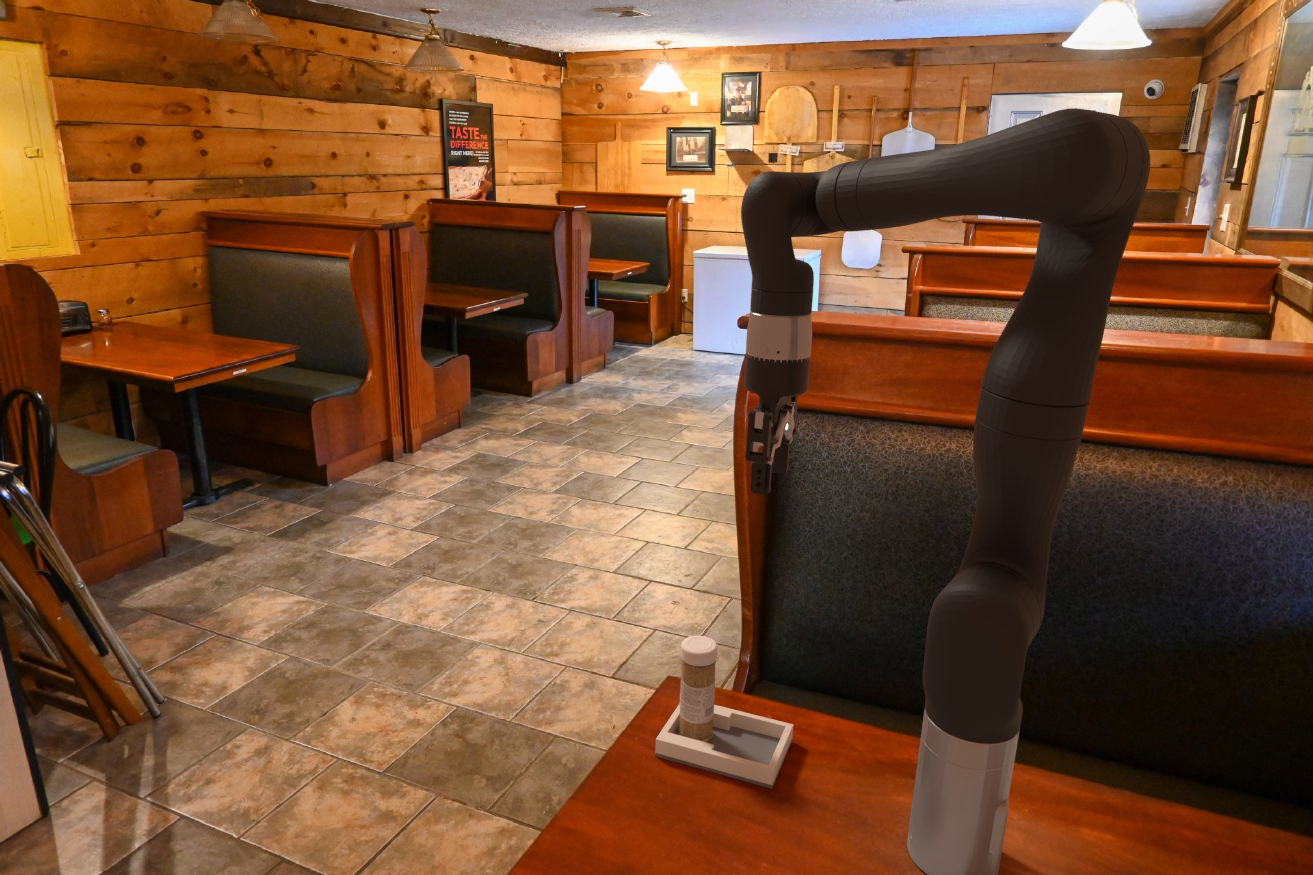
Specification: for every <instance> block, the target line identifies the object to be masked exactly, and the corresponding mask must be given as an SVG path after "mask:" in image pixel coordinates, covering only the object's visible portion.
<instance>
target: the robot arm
mask: <svg viewBox="0 0 1313 875" xmlns="http://www.w3.org/2000/svg"><path fill="white" fill-rule="evenodd" d="M1150 172H1151V153H1150V148H1149V144H1148V142H1147V139H1146V137H1145V135H1144V133H1143V132H1142V131H1141V129H1140V128H1139V127H1138V126H1137V125H1136V124H1134V122H1132V121H1130V120H1129V119H1128V118H1125V117H1123V116H1120V115H1116V114H1113V113H1107V112H1102V111H1101V112H1100V111H1096V110H1091V109H1084V108H1076V107H1075V108H1065V109H1064V108H1063V109H1059V110H1055V111H1052V112H1049V113H1047V114H1043V115H1041V116H1038V117H1035V118H1033V119H1030V120H1027V121H1024V122H1021V123H1018V124H1016V125H1013V126H1009V127H1007V128H1005V129H1001V130H999V131H996V132H993V133H990V134H987V135H985V136H981V137H978V138H975V139H971V140H968V141H963V142H960V143H956V144H953V145H947V146H943V147H939V148H933V149H927V150H921V151H919V150H918V151H911V152H906V153H897V154H891V155H890V154H889V155H882V156H875V157H870V158H865V159H856V160H852V161H848V162H847V161H846V162H842V163H839V164H836V165H834V166H831V167H830V168H829V169H827V170H823V171H811V172H809V171H808V172H798V171H796V172H795V171H794V172H793V171H774V170H772V171H765V172H761V173H759V174H757V175H756V176H755V177H753V178H752V180H751V181H750V182H749V183H748V184H747V187H746V189H745V192H744V194H743V197H742V201H741V209H740V215H741V216H740V217H741V218H740V219H741V227H742V231H743V237H744V241H745V242H744V243H745V246H746V248H745V249H746V253H747V258H748V262H749V267H750V271H751V289H750V290H751V292H750V308H749V319H748V324H747V328H746V339H745V341H746V343H745V359H744V363H745V364H744V378H743V379H744V382H743V387H744V389H745V390H746V391H748V392H750V393H752V394H756V395H757V396H758V397H759V400H758V405H757V406H755V407H754V409H753V410H752V409H750V410H749V412H748V416H747V417H748V423H747V437H746V450H745V461H746V462H748V463H749V462H750V463H751V475H750V476H751V477H750V478H751V480H750V492H751V493H753V494H756V495H763V496H767V495H768V494H769V493H770V492H771V485H772V484H771V483H772V473H775V474H780V475H784V474H786V473H787V472H788V471H789V461H790V460H789V459H790V444H792V442H793V439H794V437H793V436H796V433H797V418H798V417H797V414H798V402H799V400H798V399H799V397H800V396H802V395H804V394H806V392H807V391H808V390H809V385H810V384H809V381H810V368H811V356H812V355H811V354H812V343H813V341H812V340H813V325H812V324H813V323H812V313H813V300H814V298H813V297H814V284H815V282H814V281H815V280H814V278H815V276H814V274H815V273H814V269H813V267H812V265H810V263H808V262H807V261H804V260H801V259H797V258H796V255H795V251H794V246H793V240H792V238H804V237H814V236H815V237H816V236H822V235H828V234H834V233H839V232H864V231H872V230H875V231H877V230H882V229H883V230H885V229H892V228H900V227H906V226H910V225H916V224H918V223H919V224H920V223H924V222H928V221H931V220H935V219H942V218H950V217H962V216H963V217H965V216H982V217H983V216H985V217H999V218H1009V219H1019V220H1027V221H1034V222H1035V221H1037V222H1039V223H1040V227H1039V233H1038V235H1039V236H1038V240H1037V246H1036V252H1035V256H1034V257H1035V258H1034V261H1033V267H1032V270H1031V272H1030V277H1029V280H1028V281H1027V284H1026V287H1025V289H1024V291H1023V294H1022V295H1021V297H1020V299H1019V300H1018V303H1017V305H1016V306H1015V308H1014V311H1013V312H1012V314H1011V316H1010V318H1009V320H1008V321H1007V323H1006V325H1005V326H1004V328H1003V330H1002V332H1001V333H1000V335H999V337H998V339H997V341H996V343H995V344H994V346H993V349H992V351H991V354H990V356H989V358H988V361H987V364H986V367H985V370H984V374H983V378H982V381H981V386H980V393H979V398H978V402H977V403H978V404H977V408H976V414H975V419H974V427H973V436H972V455H973V469H974V477H975V485H976V505H975V506H976V508H975V514H974V520H973V523H972V528H971V533H970V536H969V539H968V543H967V546H966V549H965V553H964V556H963V559H962V562H961V564H960V566H959V568H958V571H957V573H956V574H955V575H954V577H953V578H952V579H951V580H950V581H949V582H948V583H947V585H946V586H945V587H944V588H943V589H942V590H940V592H939V593H938V595H937V596H936V598H935V600H934V601H933V604H932V606H931V609H930V612H929V617H928V622H927V629H926V637H925V646H924V647H925V648H924V659H923V660H924V661H923V671H922V686H923V691H924V695H925V700H924V701H925V703H924V710H923V718H922V725H921V726H922V727H921V732H920V733H921V734H920V741H919V742H920V743H919V749H918V756H917V764H916V772H915V780H914V787H913V793H912V794H913V795H912V802H911V808H910V809H911V810H910V811H911V812H910V818H909V824H908V831H907V833H908V834H907V839H906V840H907V841H906V842H907V843H906V844H907V847H906V848H907V851H908V854H909V856H910V858H911V859H912V862H914V863H915V865H916V866H917V867H918V868H919V869H920V870H921V871H922V872H924V873H925V874H926V875H999V870H1000V866H1001V865H1000V864H1001V858H1002V854H1003V853H1002V852H1003V847H1004V843H1005V842H1004V841H1005V835H1006V831H1007V830H1006V828H1007V823H1008V817H1009V808H1010V790H1011V785H1012V779H1013V778H1012V777H1013V773H1014V766H1015V761H1016V754H1017V749H1018V742H1019V736H1020V735H1019V734H1020V730H1021V725H1022V724H1021V723H1022V718H1023V713H1024V712H1023V711H1024V710H1023V709H1024V707H1023V701H1022V699H1021V697H1020V696H1021V689H1022V685H1023V676H1024V672H1025V664H1026V658H1027V653H1028V650H1029V646H1030V645H1031V644H1032V642H1033V640H1034V638H1035V637H1036V635H1037V633H1038V631H1039V630H1040V628H1041V626H1042V623H1043V622H1042V621H1043V619H1044V614H1045V606H1046V592H1047V580H1048V579H1047V578H1048V572H1049V561H1050V551H1051V543H1052V538H1053V533H1054V532H1053V531H1054V526H1055V524H1056V523H1055V522H1056V519H1057V517H1058V512H1059V510H1060V508H1061V506H1062V503H1063V499H1064V497H1065V494H1066V491H1067V489H1068V485H1069V482H1070V478H1071V476H1072V473H1073V469H1074V467H1075V466H1074V465H1075V462H1076V459H1077V455H1078V451H1079V447H1080V444H1081V440H1082V437H1083V432H1084V429H1085V428H1084V427H1085V426H1086V425H1085V424H1086V420H1087V415H1088V411H1089V407H1090V402H1091V398H1092V392H1093V386H1094V379H1095V377H1096V376H1095V375H1096V371H1097V370H1096V369H1097V366H1098V361H1099V356H1100V352H1101V347H1102V344H1103V339H1104V334H1105V330H1106V324H1107V318H1108V314H1109V308H1110V302H1111V300H1112V299H1111V298H1112V293H1113V291H1114V290H1113V289H1114V285H1115V282H1116V279H1117V274H1118V272H1119V269H1120V265H1121V263H1122V260H1123V257H1124V253H1125V249H1126V248H1127V244H1128V241H1129V238H1130V235H1131V234H1132V230H1133V227H1134V224H1135V222H1136V218H1137V216H1138V213H1139V209H1140V207H1141V205H1142V201H1143V199H1144V195H1145V192H1146V189H1147V185H1148V182H1149V177H1150ZM760 447H762V448H763V449H762V452H759V448H760Z"/></svg>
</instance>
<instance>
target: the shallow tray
mask: <svg viewBox="0 0 1313 875" xmlns="http://www.w3.org/2000/svg"><path fill="white" fill-rule="evenodd" d="M679 710H680V702H679V704H678V705H677V706H676V708H675V710H674V711H673V712H672V714H671V716H670V717H669V718H668V720H667V722H666V723H665V724H664V726H663V727H662V729H661V731H660V732H659V734H658V735H657V737H656V738H655V752H654V753H655V754H654V756H655V757H656V758H657V757H658V758H660V759H664V760H667V761H672V762H675V763H679V764H682V765H685V766H689V767H693V768H696V769H700V770H704V771H707V772H711V773H714V774H718V775H721V776H724V777H725V776H726V777H728V778H732V779H736V780H739V781H742V782H746V783H749V784H753V785H757V786H761V787H764V788H768V789H770V790H772V789H773V787H774V785H775V783H776V781H777V778H778V776H779V773H780V771H781V769H782V766H783V764H784V761H785V759H786V758H787V757H786V756H787V754H788V752H789V749H790V747H791V744H792V742H793V734H794V724H793V723H788V722H785V721H780V720H777V719H773V718H770V717H766V716H761V715H758V714H757V715H756V714H754V713H753V714H752V713H749V712H745V711H742V710H738V709H733V708H729V707H725V706H720V705H717V704H714V716H713V727H712V730H713V737H712V739H711V740H710V741H709V742H708V743H706V742H702V741H699V740H695V739H691V738H687V737H684V736H680V735H679V733H678V732H679V728H680V712H679Z"/></svg>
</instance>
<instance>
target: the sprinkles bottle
mask: <svg viewBox="0 0 1313 875" xmlns="http://www.w3.org/2000/svg"><path fill="white" fill-rule="evenodd" d="M680 659H681V673H680V674H681V675H680V691H679V703H680V710H679V712H680V728H679V732H678V733H679V735H680V736H684V737H687V738H691V739H695V740H699V741H702V742H706V743H708V742H709V741H710V740H711V739H712V737H713V730H712V727H713V716H714V705H715V700H716V698H715V696H716V663H717V659H718V644H717V642H716V641H715V640H714V639H713V638H711V637H708V636H704V635H691V636H687V637H686V638H685V639H683V640H682V642H681V644H680Z"/></svg>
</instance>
